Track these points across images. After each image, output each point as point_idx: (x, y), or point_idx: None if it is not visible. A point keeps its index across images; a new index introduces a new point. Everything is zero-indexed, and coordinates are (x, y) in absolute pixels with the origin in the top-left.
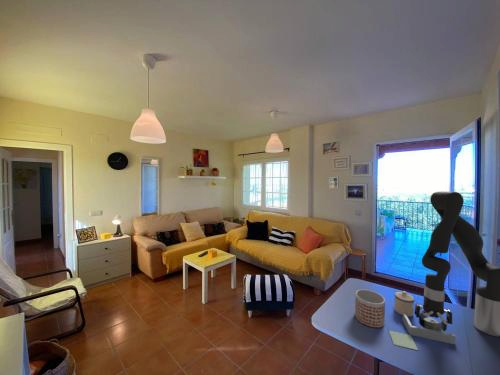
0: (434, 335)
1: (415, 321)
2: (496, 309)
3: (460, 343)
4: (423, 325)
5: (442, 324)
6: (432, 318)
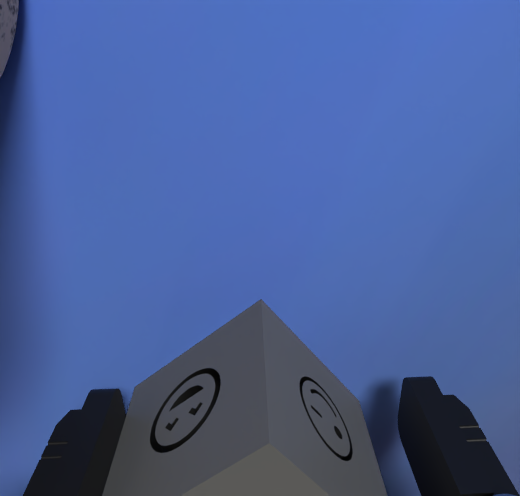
0: None
1: (51, 254)
2: None
3: None
4: None
5: (435, 485)
6: (297, 479)
